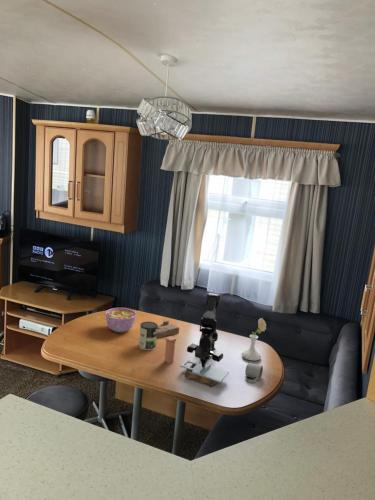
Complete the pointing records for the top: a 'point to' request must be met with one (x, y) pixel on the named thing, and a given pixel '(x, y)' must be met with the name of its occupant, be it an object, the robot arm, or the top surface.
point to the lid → (206, 371)
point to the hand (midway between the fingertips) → (203, 367)
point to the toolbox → (198, 377)
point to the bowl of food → (120, 319)
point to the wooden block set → (167, 329)
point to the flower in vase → (252, 352)
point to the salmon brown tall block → (169, 349)
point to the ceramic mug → (253, 372)
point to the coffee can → (148, 335)
